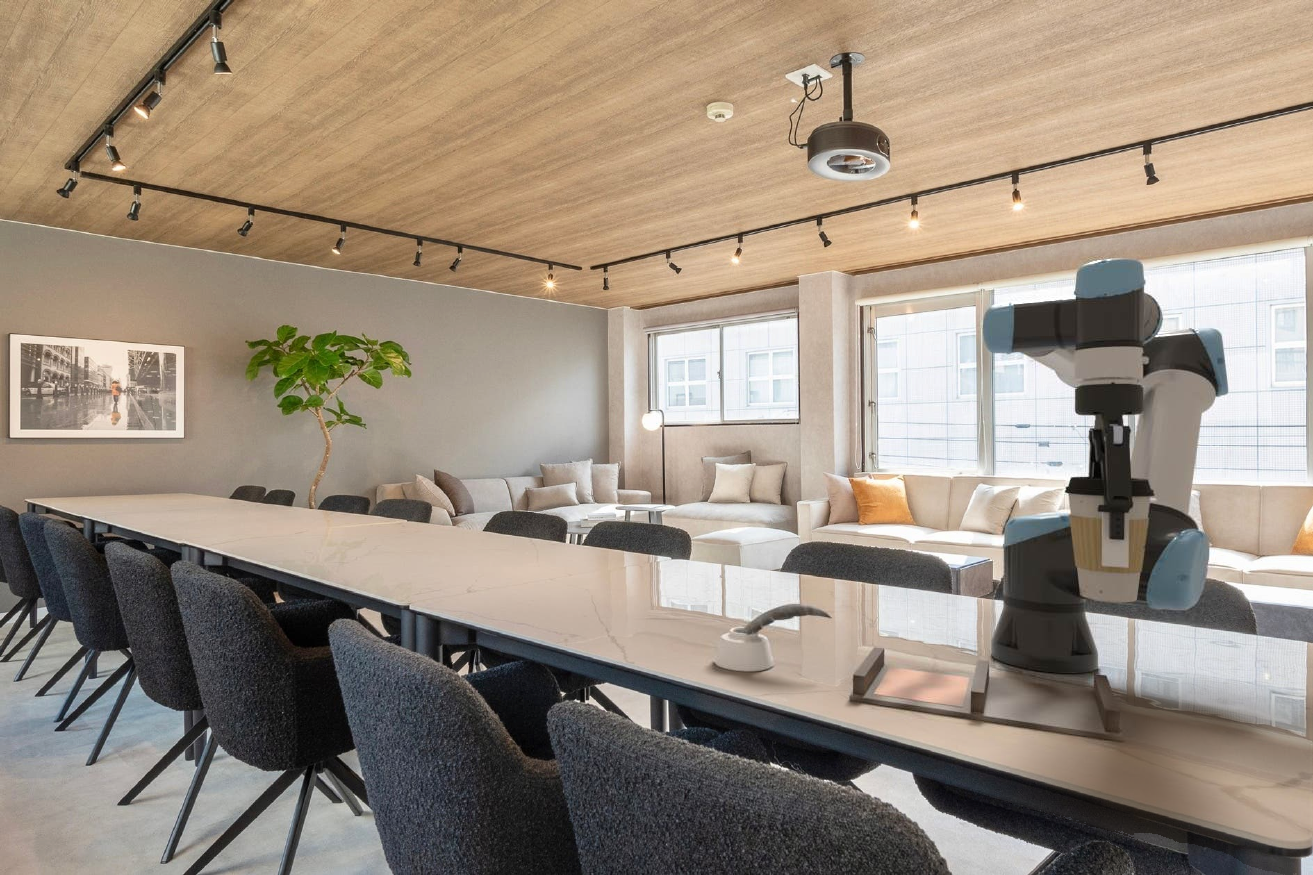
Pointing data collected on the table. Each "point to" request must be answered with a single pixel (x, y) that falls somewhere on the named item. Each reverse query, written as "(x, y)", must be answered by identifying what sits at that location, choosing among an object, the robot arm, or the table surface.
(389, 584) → the table surface
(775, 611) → the inkwell
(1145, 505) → the coffee cup
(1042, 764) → the table surface
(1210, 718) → the table surface
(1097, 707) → the slot rack
